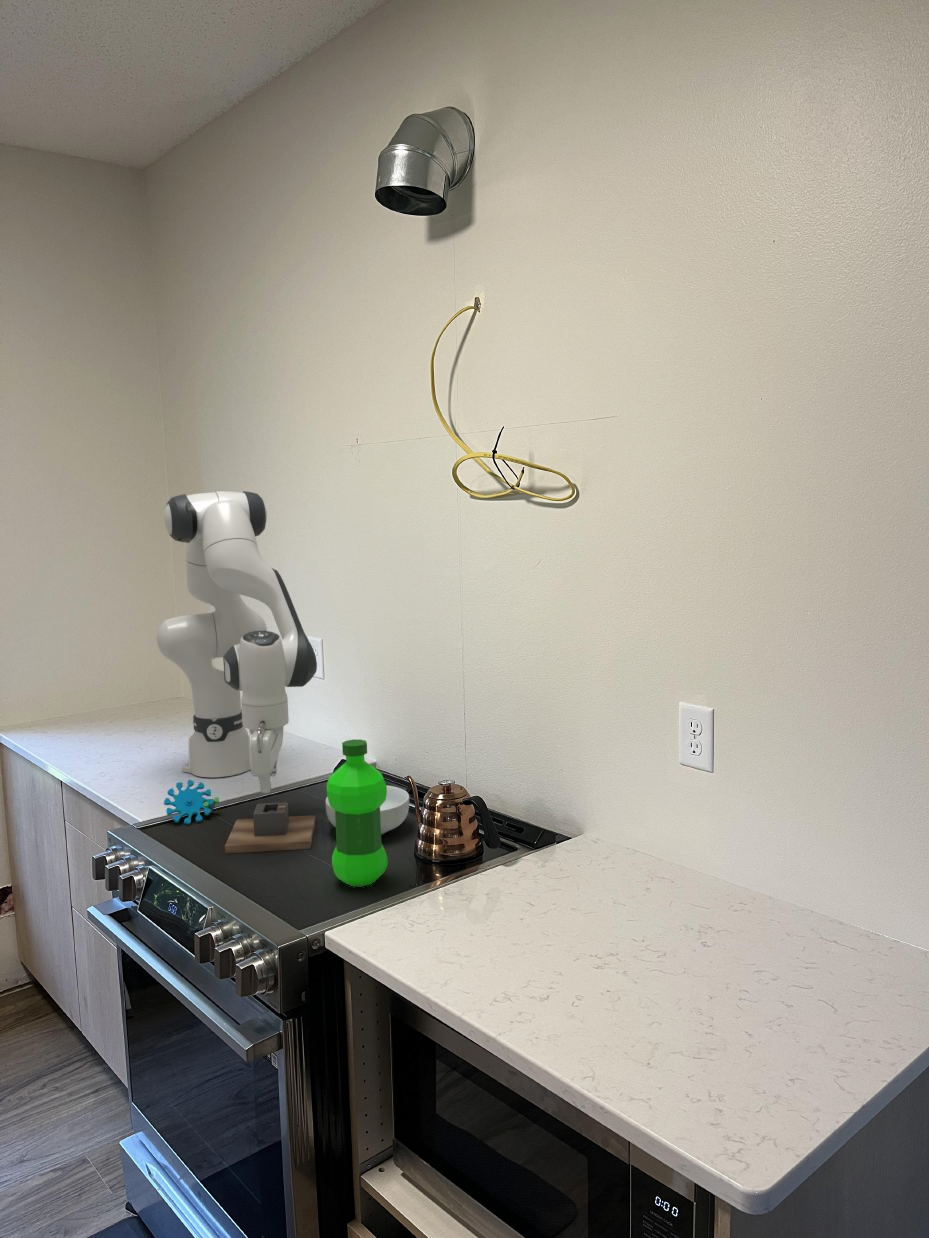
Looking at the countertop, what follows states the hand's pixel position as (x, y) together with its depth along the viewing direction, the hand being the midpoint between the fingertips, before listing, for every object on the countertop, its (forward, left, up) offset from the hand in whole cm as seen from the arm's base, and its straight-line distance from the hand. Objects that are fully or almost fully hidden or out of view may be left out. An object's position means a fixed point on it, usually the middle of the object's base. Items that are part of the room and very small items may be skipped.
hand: (269, 783), depth 181 cm
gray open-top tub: (0, 0, -10) cm, 9 cm away
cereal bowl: (-1, +19, -11) cm, 22 cm away
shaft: (0, 0, -10) cm, 9 cm away
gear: (-13, -18, -11) cm, 25 cm away
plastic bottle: (+23, +18, -11) cm, 32 cm away
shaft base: (0, 0, -11) cm, 11 cm away
